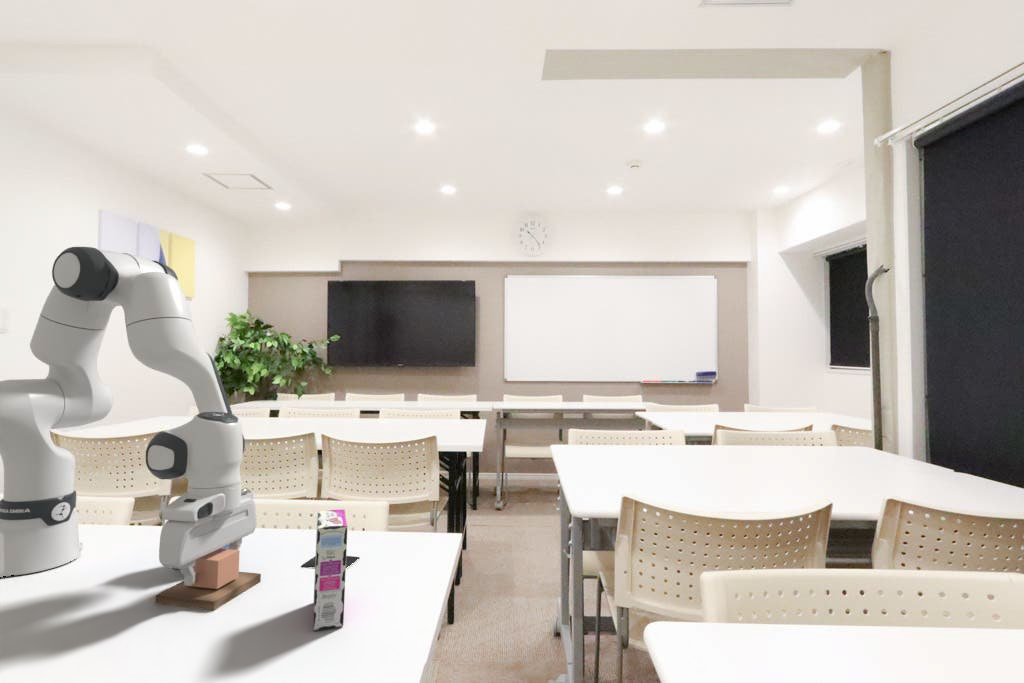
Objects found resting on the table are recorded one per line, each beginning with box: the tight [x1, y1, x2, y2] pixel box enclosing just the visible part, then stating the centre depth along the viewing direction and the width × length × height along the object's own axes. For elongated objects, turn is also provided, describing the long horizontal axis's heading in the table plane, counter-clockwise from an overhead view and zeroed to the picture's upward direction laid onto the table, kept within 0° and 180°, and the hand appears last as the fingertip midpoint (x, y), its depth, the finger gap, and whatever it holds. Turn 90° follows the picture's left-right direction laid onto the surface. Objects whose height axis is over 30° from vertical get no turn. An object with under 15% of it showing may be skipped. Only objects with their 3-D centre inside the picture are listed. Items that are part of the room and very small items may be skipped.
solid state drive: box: [301, 555, 360, 569], centre depth 109 cm, size 7×10×1 cm
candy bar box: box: [312, 509, 348, 632], centre depth 87 cm, size 11×5×16 cm, turn 21°
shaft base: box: [154, 571, 262, 611], centre depth 95 cm, size 12×12×6 cm
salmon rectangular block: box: [184, 549, 240, 589], centre depth 95 cm, size 5×7×5 cm
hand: (211, 573), depth 95 cm, fingers open, 8 cm apart
